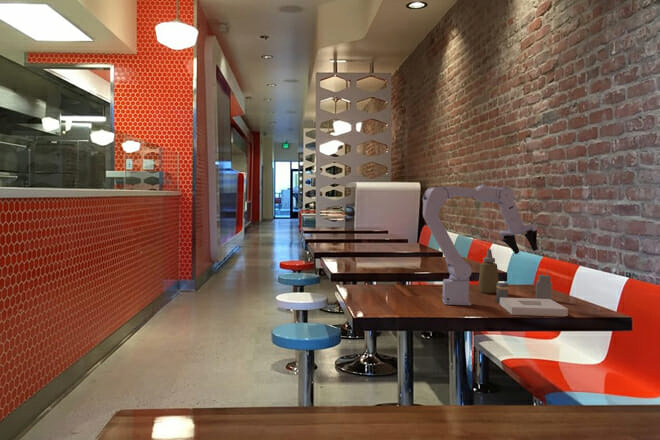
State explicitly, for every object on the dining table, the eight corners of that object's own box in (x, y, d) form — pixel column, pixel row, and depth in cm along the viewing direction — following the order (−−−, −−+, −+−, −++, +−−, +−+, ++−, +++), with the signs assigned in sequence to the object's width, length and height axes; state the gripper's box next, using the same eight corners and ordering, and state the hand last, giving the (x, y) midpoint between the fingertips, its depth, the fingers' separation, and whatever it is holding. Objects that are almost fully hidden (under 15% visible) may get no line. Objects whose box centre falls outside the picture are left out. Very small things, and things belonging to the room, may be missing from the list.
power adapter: (536, 299, 209) (537, 268, 208) (551, 300, 206) (552, 269, 205) (535, 300, 206) (536, 269, 206) (550, 301, 203) (551, 270, 203)
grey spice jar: (497, 302, 199) (498, 284, 199) (495, 300, 204) (495, 282, 203) (509, 303, 199) (509, 284, 199) (506, 301, 203) (506, 282, 203)
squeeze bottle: (500, 292, 223) (502, 249, 222) (495, 295, 216) (496, 250, 215) (481, 290, 227) (482, 248, 226) (475, 292, 220) (476, 249, 219)
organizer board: (511, 314, 179) (512, 307, 179) (499, 304, 197) (499, 297, 196) (567, 316, 177) (567, 309, 177) (550, 305, 195) (550, 299, 195)
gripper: (534, 210, 194) (548, 244, 195) (501, 218, 205) (514, 250, 206) (525, 216, 190) (540, 251, 191) (491, 224, 201) (505, 257, 202)
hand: (526, 251), depth 198 cm, fingers open, 7 cm apart
